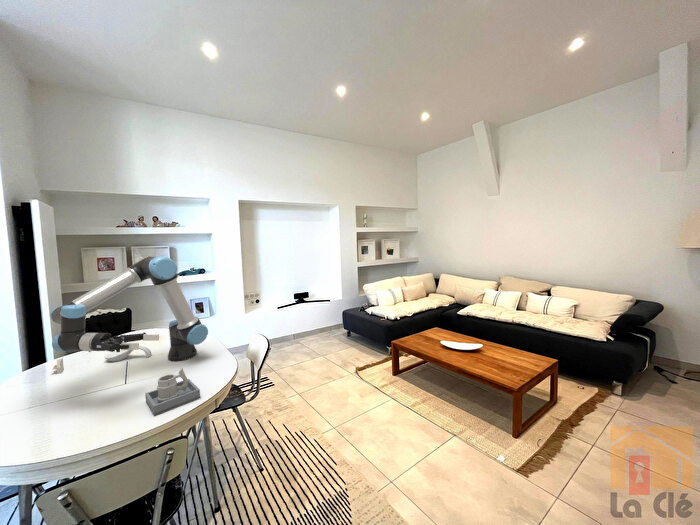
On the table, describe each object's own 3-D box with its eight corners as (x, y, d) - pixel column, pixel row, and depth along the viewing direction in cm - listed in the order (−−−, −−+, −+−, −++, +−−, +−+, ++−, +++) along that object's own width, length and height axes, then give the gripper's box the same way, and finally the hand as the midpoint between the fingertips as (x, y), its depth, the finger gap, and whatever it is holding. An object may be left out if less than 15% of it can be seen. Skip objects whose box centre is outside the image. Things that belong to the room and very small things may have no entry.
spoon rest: (100, 364, 163) (99, 352, 162) (113, 356, 174) (112, 345, 174) (145, 360, 166) (144, 349, 166) (155, 353, 178) (154, 342, 177)
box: (189, 386, 133) (188, 378, 133) (200, 398, 123) (199, 389, 122) (145, 402, 121) (145, 393, 121) (154, 416, 110) (153, 406, 110)
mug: (155, 400, 120) (153, 373, 119) (185, 389, 129) (184, 364, 128) (160, 407, 115) (157, 378, 114) (191, 395, 124) (189, 368, 123)
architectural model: (53, 376, 150) (51, 362, 150) (55, 371, 156) (54, 358, 155) (62, 374, 152) (60, 360, 152) (64, 369, 158) (63, 356, 157)
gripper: (118, 342, 132) (165, 342, 134) (70, 360, 107) (128, 360, 109) (119, 326, 132) (165, 326, 134) (70, 341, 107) (128, 340, 109)
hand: (149, 341), depth 121 cm, fingers open, 13 cm apart
